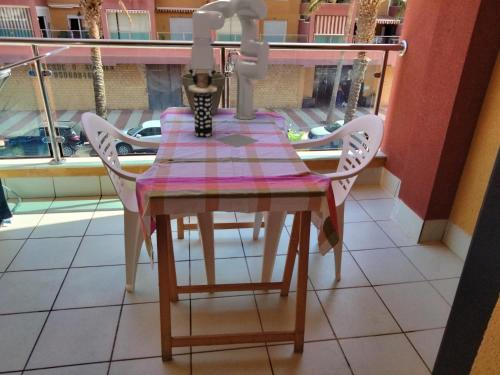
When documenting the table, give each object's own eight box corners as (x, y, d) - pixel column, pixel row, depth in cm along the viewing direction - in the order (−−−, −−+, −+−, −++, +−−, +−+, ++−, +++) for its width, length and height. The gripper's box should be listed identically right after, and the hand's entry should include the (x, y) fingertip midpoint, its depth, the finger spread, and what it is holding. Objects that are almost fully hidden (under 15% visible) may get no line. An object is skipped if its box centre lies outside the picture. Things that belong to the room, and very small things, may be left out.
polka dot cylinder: (213, 134, 183) (213, 93, 174) (210, 139, 176) (210, 96, 167) (197, 132, 184) (196, 92, 175) (193, 138, 176) (191, 95, 168)
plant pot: (174, 115, 212) (172, 76, 203) (194, 106, 233) (193, 70, 224) (214, 120, 205) (214, 80, 195) (231, 111, 226) (232, 74, 216)
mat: (237, 134, 184) (237, 133, 184) (259, 141, 175) (259, 140, 174) (214, 140, 174) (214, 139, 174) (236, 148, 165) (236, 147, 164)
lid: (204, 86, 178) (204, 72, 176) (222, 90, 170) (222, 76, 168) (182, 89, 170) (182, 75, 167) (200, 93, 162) (200, 79, 159)
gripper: (222, 42, 165) (221, 84, 173) (183, 40, 164) (184, 82, 172) (221, 43, 158) (221, 86, 166) (180, 42, 158) (182, 85, 165)
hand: (202, 84), depth 169 cm, fingers closed on lid, 5 cm apart
